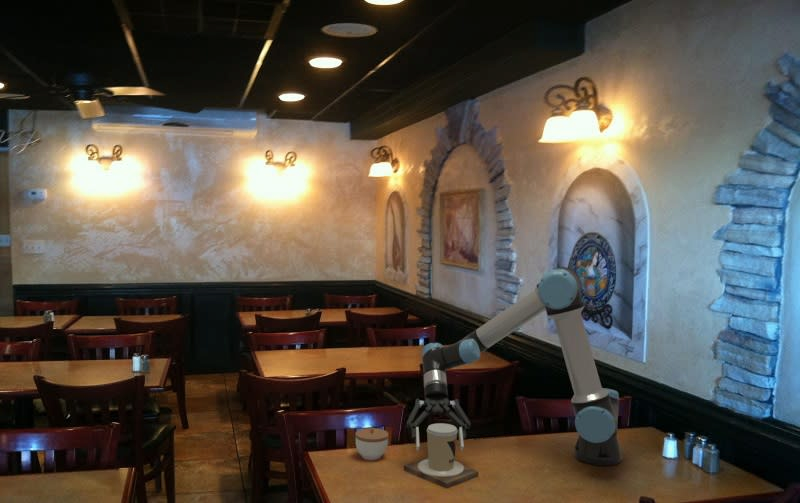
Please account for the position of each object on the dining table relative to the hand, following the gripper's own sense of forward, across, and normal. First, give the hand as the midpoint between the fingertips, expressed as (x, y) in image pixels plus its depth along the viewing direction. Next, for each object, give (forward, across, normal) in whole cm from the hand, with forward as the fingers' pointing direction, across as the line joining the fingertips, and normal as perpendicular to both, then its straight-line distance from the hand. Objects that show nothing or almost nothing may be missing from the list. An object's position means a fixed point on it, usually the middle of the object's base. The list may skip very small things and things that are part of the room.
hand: (439, 448), depth 214 cm
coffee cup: (+5, 0, -3) cm, 5 cm away
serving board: (+6, 0, -4) cm, 7 cm away
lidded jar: (-4, +20, -14) cm, 25 cm away
